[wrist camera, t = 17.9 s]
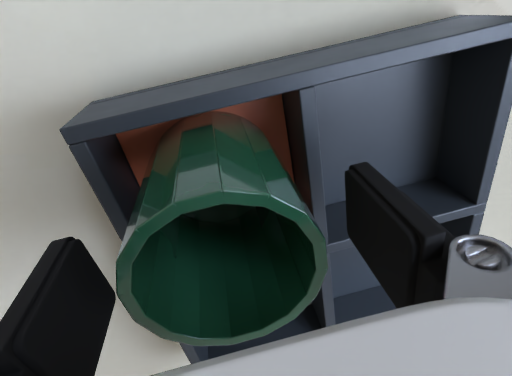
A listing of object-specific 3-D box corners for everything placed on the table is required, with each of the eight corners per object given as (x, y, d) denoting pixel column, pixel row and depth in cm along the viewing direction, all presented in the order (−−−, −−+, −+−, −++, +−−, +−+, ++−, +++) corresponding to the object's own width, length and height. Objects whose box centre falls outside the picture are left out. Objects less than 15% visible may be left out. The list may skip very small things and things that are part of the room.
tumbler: (129, 129, 13) (71, 227, 7) (264, 96, 13) (319, 165, 7) (175, 234, 16) (162, 365, 10) (283, 206, 16) (333, 317, 10)
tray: (90, 101, 13) (57, 129, 10) (459, 14, 14) (535, 15, 11) (201, 332, 22) (202, 384, 19) (423, 271, 22) (459, 312, 19)
